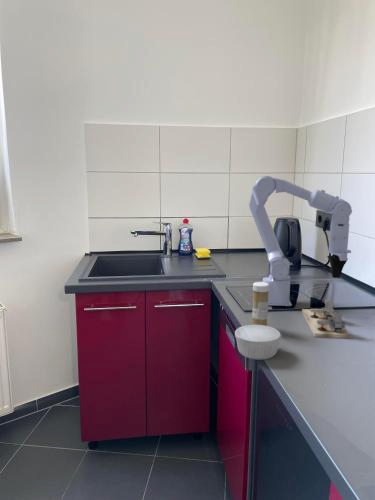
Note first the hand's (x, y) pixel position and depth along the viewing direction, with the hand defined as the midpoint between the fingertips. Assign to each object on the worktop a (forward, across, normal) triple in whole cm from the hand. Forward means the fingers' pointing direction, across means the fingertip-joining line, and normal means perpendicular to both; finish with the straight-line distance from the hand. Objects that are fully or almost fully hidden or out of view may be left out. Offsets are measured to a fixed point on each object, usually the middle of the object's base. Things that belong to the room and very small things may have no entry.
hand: (335, 277), depth 131 cm
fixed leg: (+9, -23, +7) cm, 26 cm away
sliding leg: (+9, -13, +7) cm, 17 cm away
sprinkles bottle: (+11, -21, +26) cm, 35 cm away
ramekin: (+11, -37, +28) cm, 48 cm away
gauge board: (+10, -16, +7) cm, 20 cm away
